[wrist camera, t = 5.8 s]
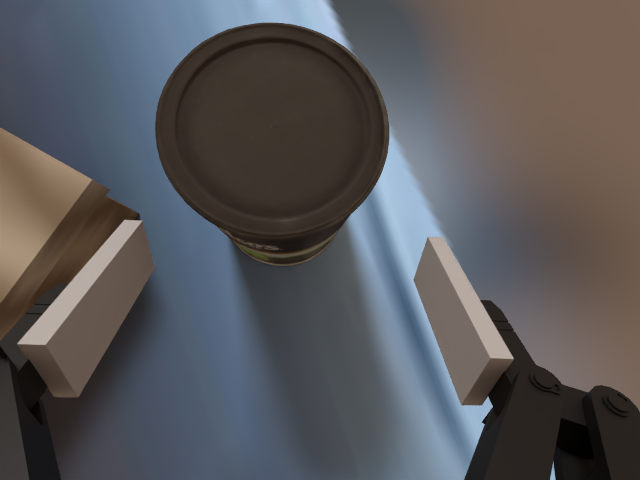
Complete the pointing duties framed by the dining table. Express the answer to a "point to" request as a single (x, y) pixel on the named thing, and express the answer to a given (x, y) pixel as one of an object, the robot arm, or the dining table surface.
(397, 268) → the dining table surface
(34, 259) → the birch shelf
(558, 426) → the robot arm
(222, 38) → the coffee can
